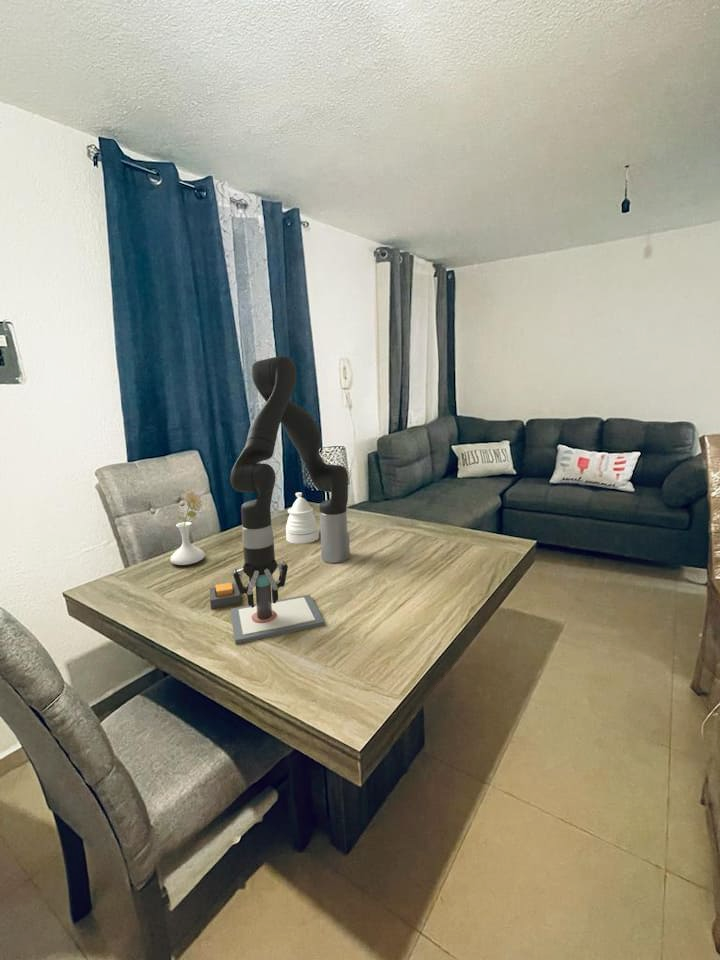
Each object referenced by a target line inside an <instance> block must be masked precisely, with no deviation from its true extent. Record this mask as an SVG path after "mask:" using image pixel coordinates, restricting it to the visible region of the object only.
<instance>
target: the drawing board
mask: <svg viewBox="0 0 720 960" xmlns="http://www.w3.org/2000/svg"><path fill="white" fill-rule="evenodd" d="M271 603H272V616H271V617H270V618H268V619H259V618H258V617H257V604H255V603H254V607H252V608H251V606H249V605H244V606H239V607H233V608H230V615H231V624H232V630H233V637H234V643H235V645H237V644H242V642H243V643H246V642H251V640H252V641H256V640H260V639H265V638H271V637H276V636H280V635H285V634H289V633H293V632H299V631H304V630H309V629H313V628H317V627H318V626H319V627H322V625H323V626H325V620H324V618H323V617H322V615H321V613H320V611H319V609H318V607H317V605H316V604H315V601H314V600H313V598H312V596H311V594H304V595H298V596H294V597H293V596H292V597H288V598H283V599H278V601H276V603H273V601H272V600H271ZM270 636H271V637H270Z"/></svg>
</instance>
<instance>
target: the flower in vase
mask: <svg viewBox="0 0 720 960" xmlns="http://www.w3.org/2000/svg"><path fill="white" fill-rule="evenodd" d="M183 496H184V497H183V500H184V502H185V503H186V506H187V509H186V514H185V517H183V516H180V515H179V516H177V517H178V521H179V520H181V521H182V522H178V523H177V524H176V525H175V526H176V527H177V528H178V530H179V531H180V534H181V535H180V536H181V540H182V542H181V545H180V547H178V548H177V549H176V550H175V552H173V554H171V556H170V559H169V561H170V562H171V563H172V564H173V565H177V566H189V565H193V564H195V563H198V562H200V561H201V560H203V559H204V558H205V555H206V554H205V552H204V551H203V550H202V549H200V548H198V547H197V546H195V545H193V544H192V543H191V542H190V535H189V533H190V527H191V525H192V524H193V523H192V522H191V521H190V522H189V521H187V517H190V518H192V519H193V518H195V517H196V516H197V512H198V511H199V512H200V510H201V509H202V507H203V504H202V500H201V499H200V498H201V497H199V496H198V494H197V493H196V494H195V491H193V490H189V491H188V490H186V492H185V494H184V495H183ZM189 509H190V510H189Z"/></svg>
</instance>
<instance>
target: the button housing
mask: <svg viewBox="0 0 720 960" xmlns="http://www.w3.org/2000/svg"><path fill="white" fill-rule="evenodd" d="M232 589H233V594H229V595H224V596H218V597H217V594H216V586H215V587H209V600H210V601H209V602H210V609H211V610H212V609H218V608H223V607H229V606H234V605H235V606H236V605H240V604H242V602H241V594H240V592H239V589H238V587H237V584H236V583H232Z"/></svg>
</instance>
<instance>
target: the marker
mask: <svg viewBox="0 0 720 960" xmlns="http://www.w3.org/2000/svg"><path fill="white" fill-rule="evenodd" d="M271 587H272V586H271V584H270V582H269V580H268V578H267V576H266V574H262V575H258V577H257V582H256V583H255V602H256V604H257V617H258V618H259V619H268V618H270V617H271V616H272V603H271V601H272V590H271Z"/></svg>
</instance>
